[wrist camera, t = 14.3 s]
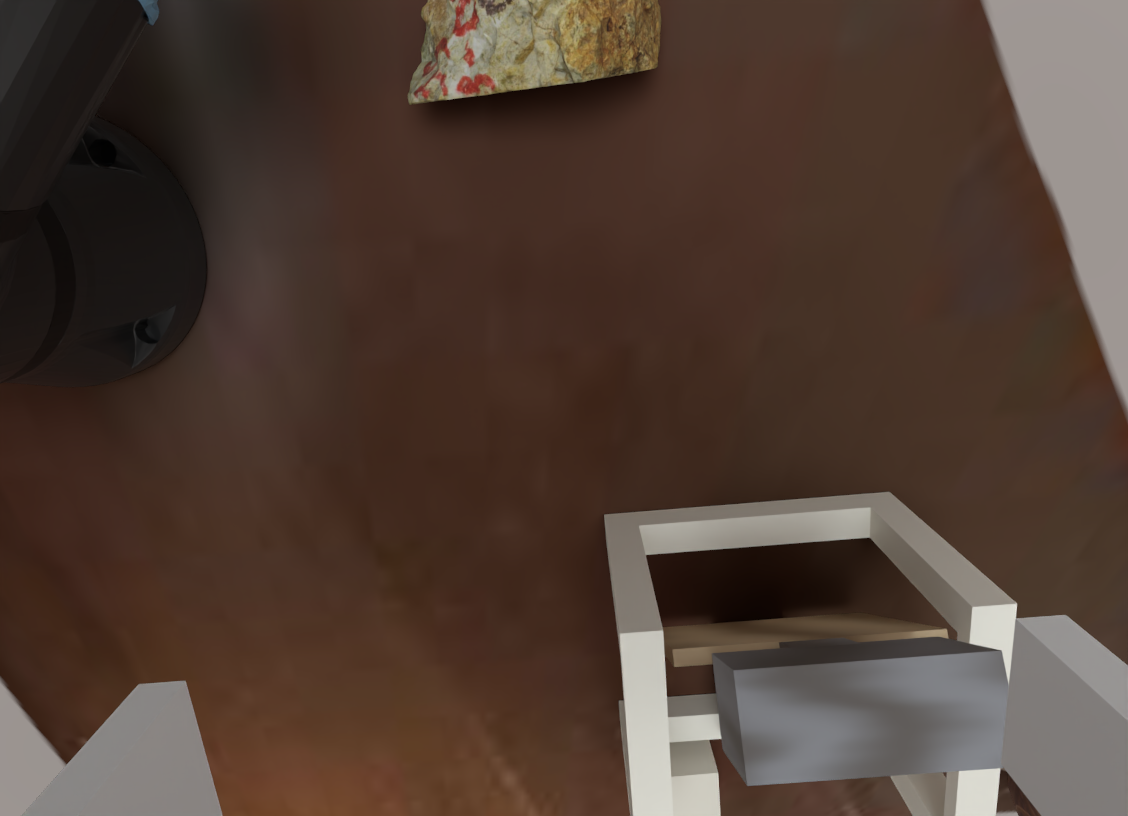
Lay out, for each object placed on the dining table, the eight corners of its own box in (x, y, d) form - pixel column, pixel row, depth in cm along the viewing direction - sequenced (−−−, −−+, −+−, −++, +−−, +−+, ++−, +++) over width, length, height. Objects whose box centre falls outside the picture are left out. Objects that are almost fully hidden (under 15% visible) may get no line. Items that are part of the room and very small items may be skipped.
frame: (620, 724, 49) (639, 901, 37) (604, 514, 45) (619, 633, 32) (880, 706, 49) (989, 878, 36) (889, 491, 44) (1017, 603, 32)
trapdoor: (653, 627, 44) (660, 695, 44) (693, 673, 27) (706, 788, 26) (860, 612, 44) (871, 679, 43) (1042, 647, 26) (1066, 763, 25)
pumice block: (652, 780, 51) (660, 827, 47) (649, 733, 50) (656, 778, 46) (708, 775, 50) (720, 822, 47) (706, 728, 49) (718, 772, 46)
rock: (498, 101, 43) (405, 137, 35) (453, -66, 39) (338, -67, 31) (686, 55, 37) (626, 85, 30) (656, -144, 33) (578, -168, 26)
